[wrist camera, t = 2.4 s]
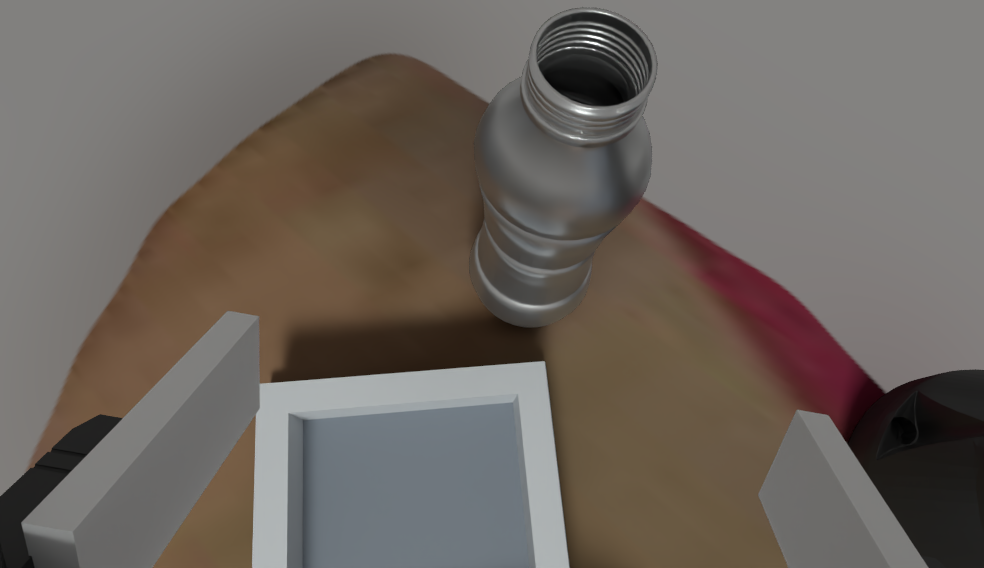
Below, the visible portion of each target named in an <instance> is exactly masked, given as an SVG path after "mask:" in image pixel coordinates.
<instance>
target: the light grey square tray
mask: <svg viewBox="0 0 984 568" xmlns="http://www.w3.org/2000/svg"><path fill="white" fill-rule="evenodd" d="M252 568H570V565H569V556H568V548H567V539H566V531H565V523H564V514H563V506H562V497H561V489H560V481H559V472H558V464H557V456H556V447H555V439H554V430H553V422H552V414H551V405H550V397H549V388H548V380H547V372H546V363H545V361H540V362H527V363H515V364H502V365H490V366H477V367H465V368H452V369H440V370H428V371H415V372H403V373H390V374H378V375H365V376H353V377H340V378H328V379H315V380H303V381H290V382H278V383H265V384H260V409H259V410H258V412H257V413H256V438H255V476H254V515H253V553H252Z"/></svg>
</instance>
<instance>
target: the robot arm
mask: <svg viewBox="0 0 984 568" xmlns="http://www.w3.org/2000/svg"><path fill="white" fill-rule="evenodd" d="M259 409H260V376H259V316H254V315H249V314H243V313H237V312H231V311H227V312H226V313H225V314H224V315H223V316H222V317H221V318H220V319H219V320H218V321H217V322H216V323H215V324H214V325H213V326H212V327H211V328H210V330H209V331H208V332H207V333H206V334H205V335H204V336H203V337H202V338H201V339H200V340H199V341H198V342H197V343H196V344H195V345H194V346H193V347H192V348H191V349H190V350H189V351H188V352H187V353H186V354H185V355H184V356H183V357H182V358H181V359H180V360H179V361H178V362H177V363H176V364H175V365H174V366H173V367H172V369H171V370H170V371H169V372H168V373H167V374H166V375H165V376H164V377H163V378H162V379H161V380H160V381H159V382H158V383H157V384H156V385H155V386H154V387H153V388H152V389H151V390H150V391H149V392H148V393H147V394H146V395H145V396H144V397H143V398H142V399H141V400H140V401H139V402H138V403H137V404H136V405H135V406H134V407H133V409H132V410H131V411H130V412H129V413H128V414H127V415H126V416H125V417H124V418H118V417H112V416H106V415H101V414H100V415H98V416H96V417H94V418H92V419H90V420H88V421H87V422H85V423H83V424H81V425H79V426H77V427H75V428H73V429H72V430H71V431H70V432H69V433H68V434H66V435H65V436H64V437H63V438H62V439H61V440H60V441H59V442H58V443H57V444H56V445H55V446H54V447H53V448H52V450H51V452H47V453H46V454H45V455H44V456H43V457H42V458H41V459H40V460H39V461H38V462H37V463H36V464H35V467H34V468H30V469H29V470H28V471H27V472H26V473H25V474H24V475H23V476H22V477H21V478H20V479H19V480H17V482H16V483H14V484H13V485H12V486H11V487H10V488H9V489H8V490H7V491H6V492H5V493H4V494H3V495H1V496H0V568H152V567H153V566H154V564H155V563H156V561H157V560H158V558H159V557H160V555H161V554H162V552H163V551H164V549H165V548H166V546H167V545H168V543H169V542H170V541H171V539H172V538H173V536H174V535H175V533H176V532H177V530H178V529H179V527H180V526H181V524H182V523H183V521H184V520H185V518H186V517H187V515H188V514H189V512H190V511H191V509H192V508H193V506H194V505H195V503H196V502H197V500H198V499H199V498H200V496H201V495H202V493H203V492H204V490H205V489H206V487H207V486H208V484H209V483H210V481H211V480H212V478H213V477H214V475H215V474H216V472H217V471H218V469H219V468H220V466H221V465H222V463H223V462H224V460H225V459H226V458H227V456H228V455H229V453H230V452H231V450H232V449H233V447H234V446H235V444H236V443H237V441H238V440H239V438H240V437H241V435H242V434H243V432H244V431H245V429H246V428H247V426H248V425H249V423H250V422H251V420H252V419H253V417H254V416H255V415H256V413H257V412H258V410H259ZM758 496H759V498H760V501H761V503H762V505H763V508H764V510H765V513H766V515H767V517H768V520H769V522H770V524H771V527H772V529H773V532H774V534H775V536H776V539H777V541H778V544H779V546H780V548H781V551H782V553H783V556H784V558H785V560H786V563H787V565H788V568H984V370H959V371H951V372H946V373H941V374H937V375H933V376H929V377H925V378H921V379H917V380H914V381H911V382H908V383H905V384H903V385H901V386H898V387H896V388H895V389H893V390H891V391H889V392H888V393H886V394H885V395H884V396H882V397H881V398H880V399H878V400H877V401H876V402H875V403H874V404H873V405H872V406H871V407H870V408H869V409H868V410H867V412H866V413H865V414H864V416H863V417H862V418H861V420H860V421H859V423H858V424H857V426H856V428H855V430H854V432H853V434H852V436H851V438H850V441H849V443H848V445H847V443H846V442H845V440H844V438H843V437H842V435H841V434H840V432H839V431H838V429H837V428H836V426H835V425H834V423H833V422H832V420H831V419H830V417H829V416H828V415H824V414H818V413H812V412H807V411H801V410H796V413H795V415H794V417H793V419H792V421H791V424H790V426H789V428H788V430H787V432H786V435H785V437H784V439H783V441H782V444H781V446H780V448H779V450H778V452H777V455H776V457H775V459H774V461H773V463H772V466H771V468H770V470H769V472H768V474H767V477H766V479H765V481H764V483H763V485H762V488H761V490H760V492H759V494H758Z"/></svg>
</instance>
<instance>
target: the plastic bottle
mask: <svg viewBox="0 0 984 568" xmlns="http://www.w3.org/2000/svg"><path fill="white" fill-rule="evenodd" d="M656 74H657V57H656V53H655V51H654V48H653V45H652V43H651V42H650V40H649V39H648V37H647V36H646V34H645V33H644V32H643V31H642V30H641V29H640V28H639V27H638V26H637V25H635V24H634V23H633V22H631V21H630V20H629V19H627V18H625V17H623V16H621V15H619V14H617V13H614V12H611V11H608V10H604V9H598V8H584V7H582V8H575V9H570V10H566V11H563V12H560V13H558V14H556V15H555V16H553V17H551V18H550V19H548V20H547V21H546V22H545V23H544V24H543V25H542V26H541V27H540V29H539V30H538V31H537V33H536V35H535V37H534V40H533V42H532V44H531V48H530V53H529V59H528V60H527V62H526V65H525V67H524V69H523V73H522V76H521V77H519V78H518V79H516V80H514V81H512V82H510V83H509V84H508V85H506V86H505V87H504V88H503V89H502V90H500V91H499V92H498V93H497V95H496V96H495V97H494V99H493V100H492V102H491V103H490V104H489V106H488V107H487V109H486V111H485V112H484V114H483V115H482V118H481V120H480V122H479V124H478V127H477V129H476V134H475V140H474V158H475V169H476V173H477V177H478V181H479V185H480V189H481V193H482V197H483V201H484V221H483V225H482V228H481V230H480V231H479V233H478V235H477V237H476V239H475V242H474V244H473V247H472V249H471V253H470V259H469V273H470V277H471V281H472V284H473V286H474V288H475V290H476V293H477V295H478V297H479V298H480V300H481V302H482V303H483V304H484V305H485V307H486V308H487V309H488V310H489V311H490V312H491V313H492V314H494V315H495V316H496V317H498V318H500V319H501V320H503V321H505V322H507V323H510V324H512V325H515V326H521V327H542V326H547V325H550V324H552V323H554V322H557V321H559V320H560V319H562V318H564V317H565V316H567V315H568V314H570V313H571V312H573V311H574V310H575V309H576V307H577V306H578V305H579V304H580V303H581V301H582V300H583V298H584V297H585V295H586V292H587V289H588V287H589V283H590V278H591V271H592V259H593V255H594V252H595V250H596V249H597V248H598V246H599V245H600V243H601V242H602V240H603V239H604V238H605V237H606V236H607V235H608V234H609V233H610V232H611V231H612V230H613V229H614V228H615V227H616V226H617V225H618V224H620V223H621V222H622V221H623V220H624V219H625V218H626V217H627V216H628V215H629V214H630V213H631V211H632V210H633V209H634V207H635V206H636V205H637V204H638V202H639V201H640V199H641V197H642V196H643V194H644V192H645V191H646V188H647V185H648V182H649V179H650V175H651V164H652V146H651V140H650V133H649V131H648V128H647V125H646V122H645V120H644V118H643V116H642V115H643V113H644V110H645V107H646V104H647V98H648V96H649V94H650V92H651V90H652V88H653V85H654V82H655V79H656Z"/></svg>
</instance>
